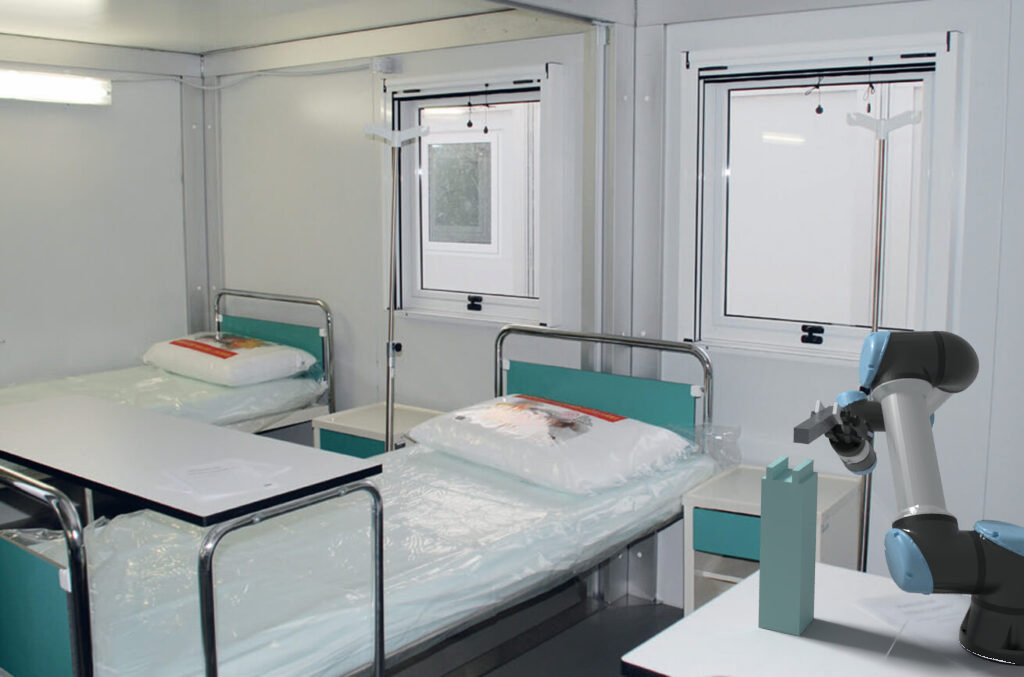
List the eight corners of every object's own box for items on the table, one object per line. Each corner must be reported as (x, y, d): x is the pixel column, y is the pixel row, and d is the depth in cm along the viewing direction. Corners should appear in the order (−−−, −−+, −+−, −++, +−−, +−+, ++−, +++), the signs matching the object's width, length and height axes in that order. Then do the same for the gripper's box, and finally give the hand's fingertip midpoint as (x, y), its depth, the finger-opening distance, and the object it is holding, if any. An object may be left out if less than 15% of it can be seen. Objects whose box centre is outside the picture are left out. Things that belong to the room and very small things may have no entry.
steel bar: (829, 419, 219) (829, 405, 219) (843, 420, 217) (843, 407, 217) (793, 442, 197) (793, 427, 197) (808, 444, 196) (808, 429, 195)
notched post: (774, 609, 204) (778, 455, 200) (813, 618, 199) (818, 460, 195) (758, 627, 195) (761, 466, 191) (798, 636, 191) (803, 471, 187)
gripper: (883, 462, 224) (862, 427, 205) (811, 453, 232) (785, 419, 214) (887, 430, 226) (868, 394, 208) (816, 423, 235) (791, 387, 216)
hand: (826, 407), depth 211 cm, fingers closed on steel bar, 3 cm apart
